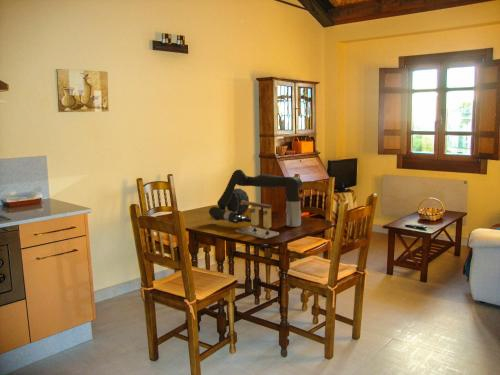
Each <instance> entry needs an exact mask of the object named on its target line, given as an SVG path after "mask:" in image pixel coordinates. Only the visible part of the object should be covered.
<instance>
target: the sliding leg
mask: <svg viewBox="0 0 500 375" xmlns="http://www.w3.org/2000/svg"><path fill="white" fill-rule="evenodd" d="M259 208H260V207H256V206H250V209H249V210H250V211H249V212H250V219H251V222H250V224H251V225H250V226H253V227H254V231H256V228H257V226H258V225H260V215H259V214H260V212H259V211H260V210H259Z"/></svg>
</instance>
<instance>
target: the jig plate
mask: <svg viewBox="0 0 500 375" xmlns="http://www.w3.org/2000/svg"><path fill="white" fill-rule="evenodd" d="M235 232H236V233H239V234H243V235H247V236H252V237H256V238H260V239H265V240H266V239H269V238H273V237H275V236H279V235H280V232H278V231H274V230H270V229H269V233H266V228H260V227H256V231H254V226H252V225H249V226H245V227H242V228H236V229H235Z"/></svg>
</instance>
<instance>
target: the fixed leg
mask: <svg viewBox="0 0 500 375" xmlns="http://www.w3.org/2000/svg"><path fill="white" fill-rule="evenodd" d="M262 215H263V217H262V218H263V222H262V223H263V228H264V229H265V230H266V233H269V230H270V228H272V208H270V209H268V208H263V209H262Z"/></svg>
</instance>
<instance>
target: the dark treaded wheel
mask: <svg viewBox="0 0 500 375" xmlns="http://www.w3.org/2000/svg"><path fill="white" fill-rule="evenodd" d="M243 200H245V201H248V202H250V198H249V195H248V194H247V191H246V190H243V188H234V191H233V194H232V198H231V200H230V202H229V203H228V205H227V206H226V210H227V211H234V212H238V213H239V214H240V215H244V214H245V213H246V212H247V211H248V210H249V206H250V205H244V204H243V205H241V201H243Z"/></svg>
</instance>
